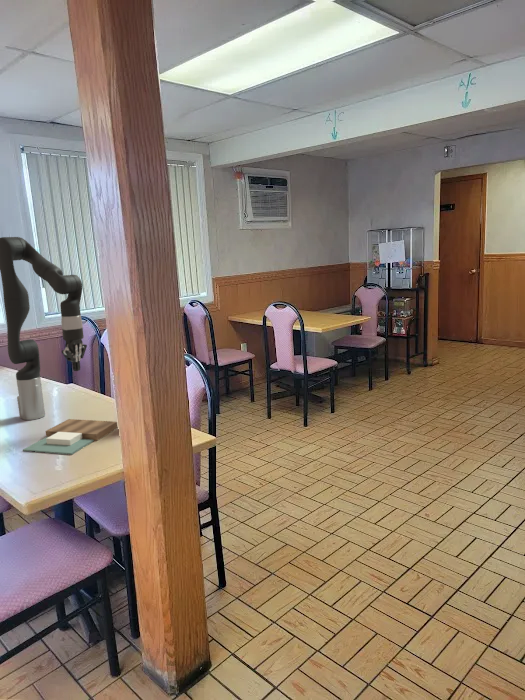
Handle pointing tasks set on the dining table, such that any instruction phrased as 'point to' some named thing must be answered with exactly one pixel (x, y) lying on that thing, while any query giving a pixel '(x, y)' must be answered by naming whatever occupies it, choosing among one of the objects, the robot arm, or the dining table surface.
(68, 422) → the board
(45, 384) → the dining table surface
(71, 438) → the plastic block
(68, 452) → the rubber mat
